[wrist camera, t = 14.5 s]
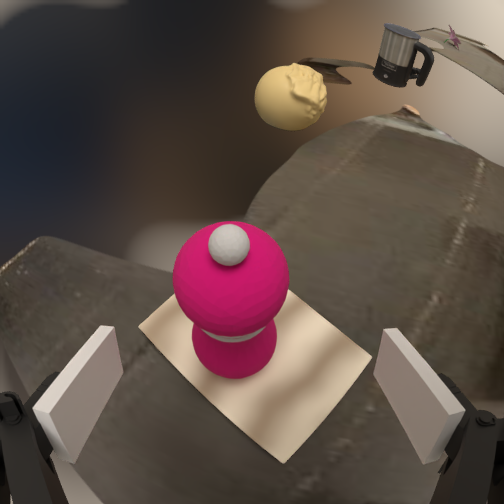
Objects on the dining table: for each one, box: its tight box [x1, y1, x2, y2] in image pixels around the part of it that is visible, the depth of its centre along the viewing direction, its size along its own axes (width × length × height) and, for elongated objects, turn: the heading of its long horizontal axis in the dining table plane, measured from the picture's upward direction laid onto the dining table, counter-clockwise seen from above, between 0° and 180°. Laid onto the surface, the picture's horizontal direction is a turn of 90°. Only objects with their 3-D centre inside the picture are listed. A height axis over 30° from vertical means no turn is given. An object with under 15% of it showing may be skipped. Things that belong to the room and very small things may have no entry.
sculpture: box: [255, 63, 327, 131], centre depth 47 cm, size 12×12×11 cm
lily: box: [445, 25, 461, 49], centre depth 93 cm, size 12×12×10 cm
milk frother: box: [373, 24, 434, 87], centre depth 60 cm, size 14×16×15 cm
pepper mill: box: [173, 221, 289, 379], centre depth 21 cm, size 7×7×20 cm
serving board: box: [138, 289, 372, 464], centre depth 31 cm, size 20×14×2 cm
